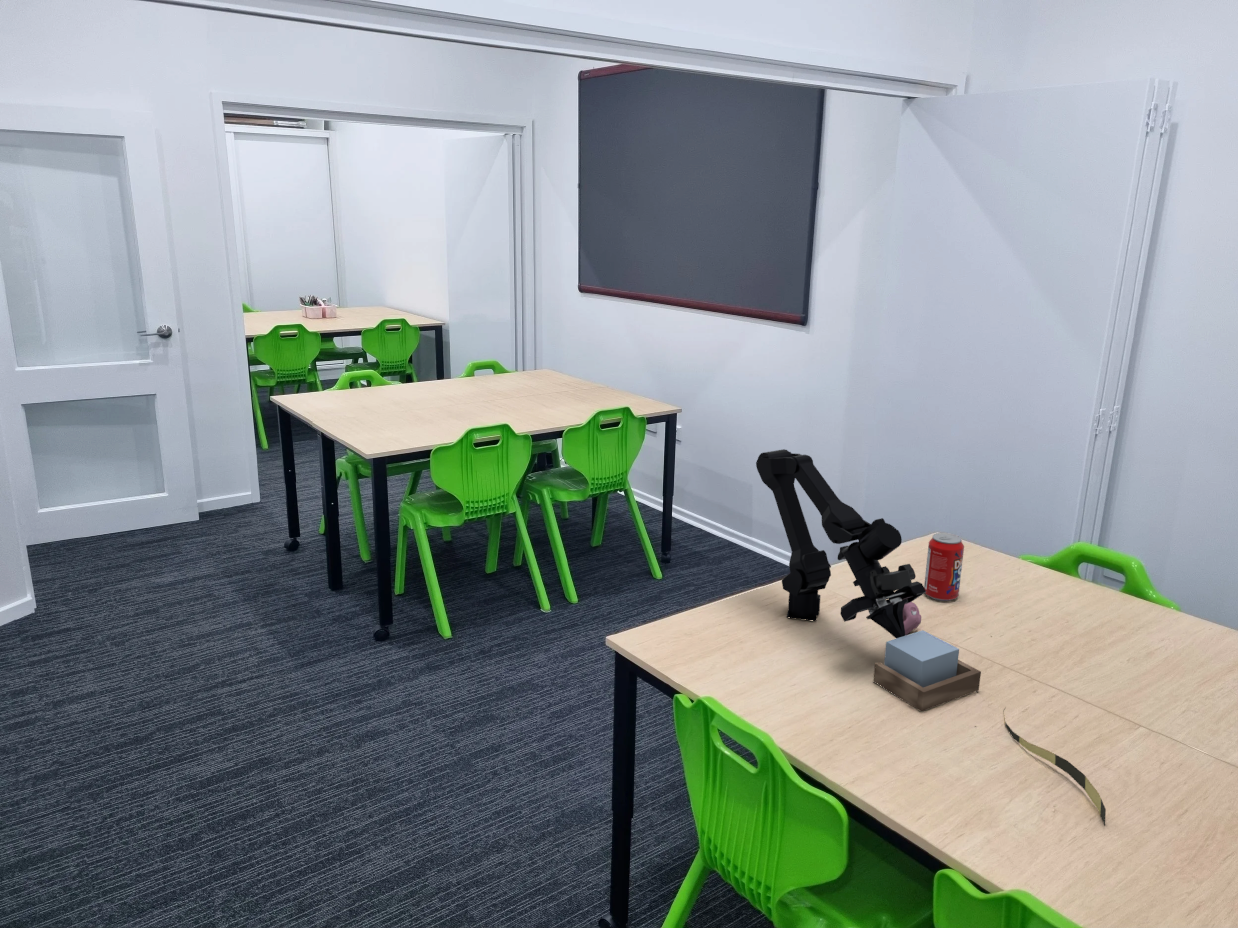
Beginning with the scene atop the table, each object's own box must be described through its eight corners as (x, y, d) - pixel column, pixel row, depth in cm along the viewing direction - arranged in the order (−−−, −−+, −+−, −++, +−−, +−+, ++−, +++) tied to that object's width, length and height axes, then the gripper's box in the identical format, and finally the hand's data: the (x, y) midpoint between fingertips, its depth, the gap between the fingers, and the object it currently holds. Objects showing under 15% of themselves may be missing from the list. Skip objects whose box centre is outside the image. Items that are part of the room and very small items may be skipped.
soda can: (916, 591, 213) (922, 533, 209) (944, 587, 216) (950, 529, 212) (936, 605, 206) (943, 544, 202) (965, 600, 209) (972, 541, 204)
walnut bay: (873, 681, 173) (874, 663, 172) (929, 662, 180) (930, 644, 179) (921, 711, 163) (923, 692, 161) (978, 690, 170) (981, 671, 169)
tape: (1069, 829, 133) (1071, 808, 132) (982, 695, 169) (983, 678, 168) (1110, 830, 132) (1113, 808, 131) (1014, 695, 169) (1015, 677, 168)
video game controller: (911, 644, 191) (928, 617, 189) (893, 635, 191) (910, 608, 189) (898, 623, 201) (914, 598, 199) (880, 615, 200) (897, 589, 198)
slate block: (882, 678, 174) (886, 641, 172) (918, 665, 179) (922, 630, 177) (918, 699, 167) (922, 661, 164) (954, 686, 171) (959, 648, 169)
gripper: (854, 561, 170) (892, 636, 164) (923, 544, 179) (962, 614, 173) (824, 584, 179) (859, 656, 173) (891, 567, 188) (927, 635, 182)
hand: (903, 640), depth 175 cm, fingers closed
